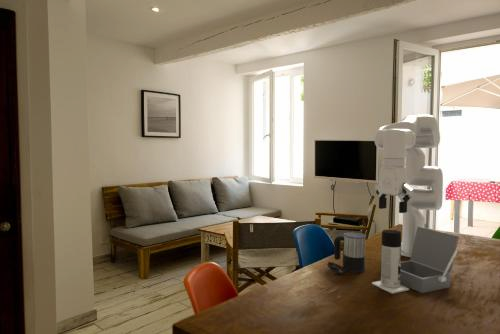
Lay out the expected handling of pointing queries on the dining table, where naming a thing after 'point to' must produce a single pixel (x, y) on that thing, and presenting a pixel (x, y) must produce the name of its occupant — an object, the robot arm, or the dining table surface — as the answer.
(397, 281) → the spray can
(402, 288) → the pad
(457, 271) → the dining table surface
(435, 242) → the case
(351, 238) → the milk frother
